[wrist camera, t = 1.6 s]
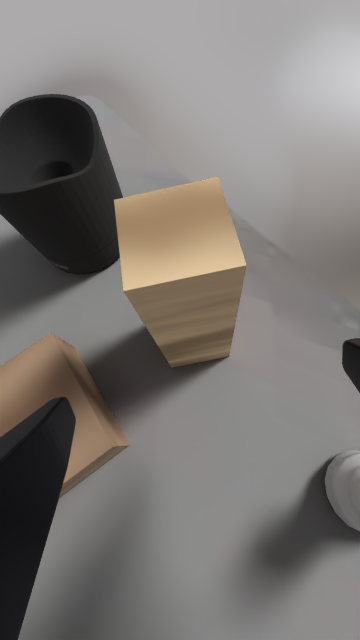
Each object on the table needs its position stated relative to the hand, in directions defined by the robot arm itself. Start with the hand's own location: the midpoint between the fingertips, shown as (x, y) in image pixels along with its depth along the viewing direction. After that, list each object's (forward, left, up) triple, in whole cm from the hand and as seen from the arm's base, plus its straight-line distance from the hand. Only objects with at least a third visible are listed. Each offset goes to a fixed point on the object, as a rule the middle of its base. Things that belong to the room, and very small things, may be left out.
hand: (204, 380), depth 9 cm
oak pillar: (+6, -2, -12) cm, 13 cm away
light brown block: (+5, +11, -12) cm, 17 cm away
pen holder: (+20, +2, -12) cm, 23 cm away
